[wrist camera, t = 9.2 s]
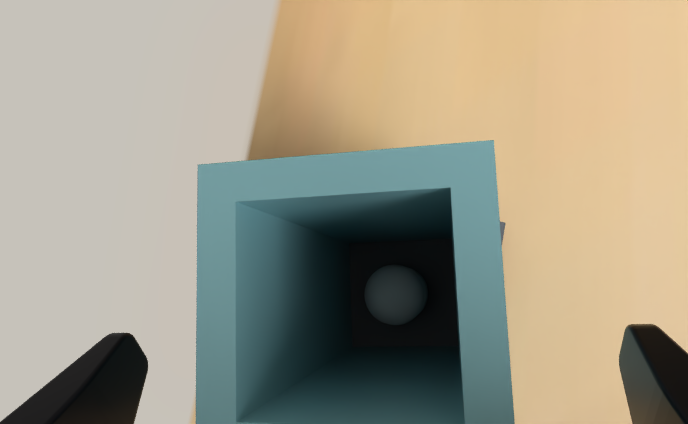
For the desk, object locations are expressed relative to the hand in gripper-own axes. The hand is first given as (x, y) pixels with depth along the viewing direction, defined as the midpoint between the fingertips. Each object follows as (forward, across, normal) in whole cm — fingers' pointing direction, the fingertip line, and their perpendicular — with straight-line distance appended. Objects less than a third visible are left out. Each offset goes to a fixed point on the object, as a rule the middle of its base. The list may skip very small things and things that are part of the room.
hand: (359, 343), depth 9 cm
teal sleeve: (+7, 0, +6) cm, 9 cm away
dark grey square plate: (+8, 0, +6) cm, 10 cm away
